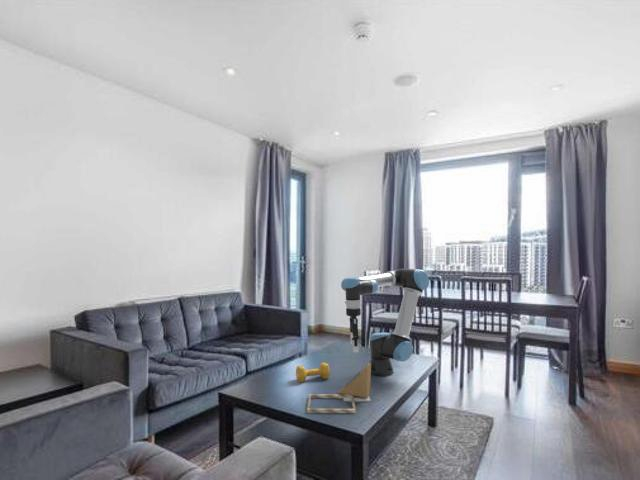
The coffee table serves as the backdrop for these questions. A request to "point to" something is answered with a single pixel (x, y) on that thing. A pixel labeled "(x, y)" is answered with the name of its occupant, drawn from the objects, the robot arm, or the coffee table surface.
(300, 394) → the coffee table surface
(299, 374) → the dumbbell
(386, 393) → the coffee table surface
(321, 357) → the coffee table surface
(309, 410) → the birch frame
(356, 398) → the grey pad
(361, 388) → the sandwich container
